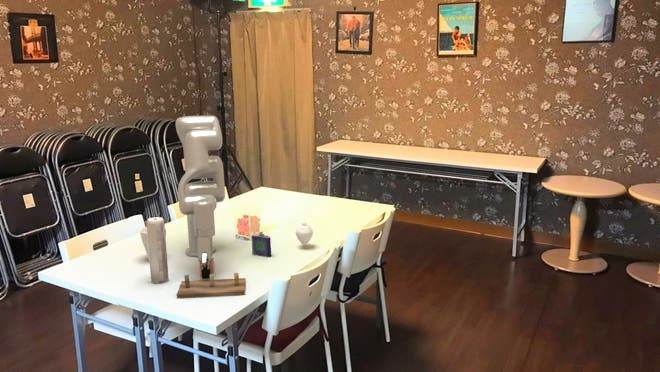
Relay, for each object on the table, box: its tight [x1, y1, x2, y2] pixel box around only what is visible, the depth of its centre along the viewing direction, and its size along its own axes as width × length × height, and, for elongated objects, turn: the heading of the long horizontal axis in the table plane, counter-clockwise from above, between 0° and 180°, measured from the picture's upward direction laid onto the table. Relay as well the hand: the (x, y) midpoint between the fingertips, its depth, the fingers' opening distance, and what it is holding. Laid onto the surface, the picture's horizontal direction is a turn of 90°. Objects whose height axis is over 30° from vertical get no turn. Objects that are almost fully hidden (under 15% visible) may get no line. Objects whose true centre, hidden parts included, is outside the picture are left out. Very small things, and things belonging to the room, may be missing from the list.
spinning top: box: [295, 221, 314, 249], centre depth 247 cm, size 8×8×12 cm
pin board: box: [176, 272, 247, 299], centre depth 204 cm, size 12×24×6 cm, turn 96°
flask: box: [251, 231, 272, 258], centre depth 239 cm, size 9×3×11 cm, turn 65°
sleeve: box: [198, 257, 216, 280], centre depth 216 cm, size 5×5×7 cm
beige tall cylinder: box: [146, 216, 170, 285], centre depth 211 cm, size 6×6×25 cm
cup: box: [139, 226, 167, 262], centre depth 233 cm, size 10×10×14 cm
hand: (207, 273), depth 216 cm, fingers open, 7 cm apart
